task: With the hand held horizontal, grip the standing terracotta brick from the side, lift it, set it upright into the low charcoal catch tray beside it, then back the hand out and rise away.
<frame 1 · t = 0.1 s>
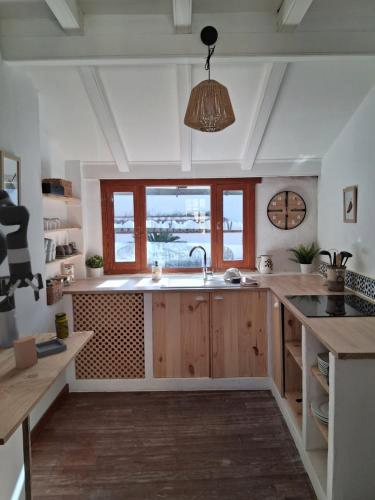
hand: (24, 303, 138), 29 cm above the table, tool pointing down, fingers open, 8 cm apart
tray: (49, 349, 169), on the table
brick: (27, 364, 154), on the table
condiment: (61, 337, 183), on the table
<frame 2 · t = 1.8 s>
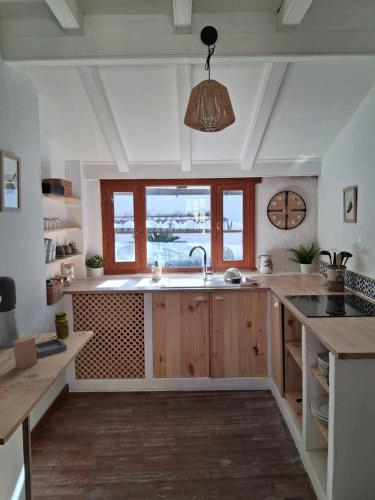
nothing on the table moved.
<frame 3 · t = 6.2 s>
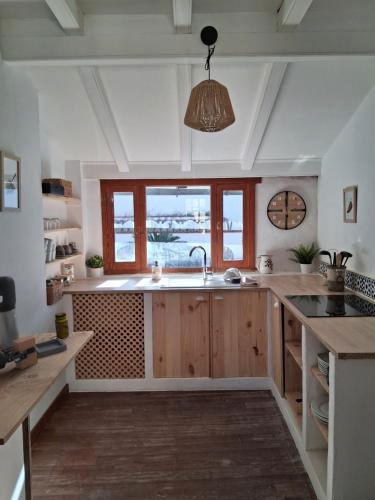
hand: (31, 348, 155), 6 cm above the table, tool horizontal, fingers closed on brick, 4 cm apart
brick: (26, 364, 154), on the table, touching gripper
everything else where it was.
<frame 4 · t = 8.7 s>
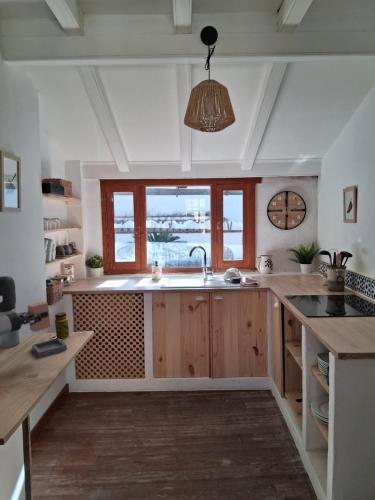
hand: (44, 313, 164), 18 cm above the table, tool horizontal, fingers closed on brick, 4 cm apart
brick: (40, 328, 163), point 12 cm above the table, touching gripper
everything else where it was.
when the fingers open (8 cm above the table, at t = 11.3 s): brick drops 1 cm, resting on tray.
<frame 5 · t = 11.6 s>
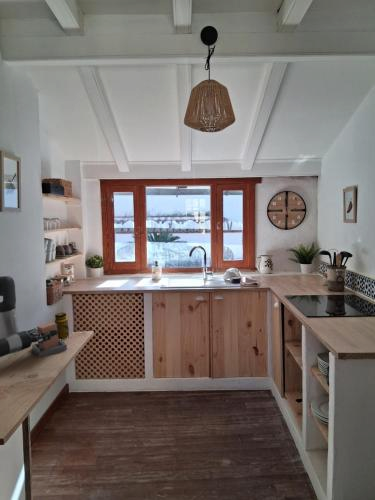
hand: (52, 330, 169), 8 cm above the table, tool horizontal, fingers open, 7 cm apart
brick: (49, 348, 168), point 1 cm above the table, touching tray
everything else where it was.
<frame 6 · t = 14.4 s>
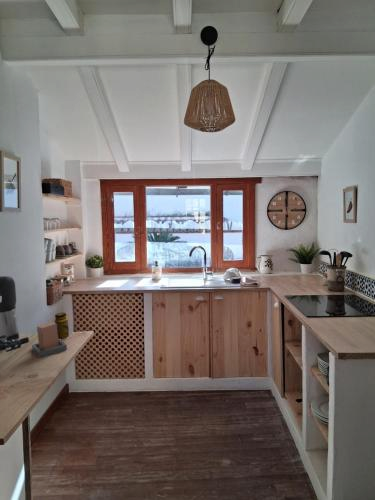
hand: (23, 337, 159), 9 cm above the table, tool horizontal, fingers open, 8 cm apart
nothing on the table moved.
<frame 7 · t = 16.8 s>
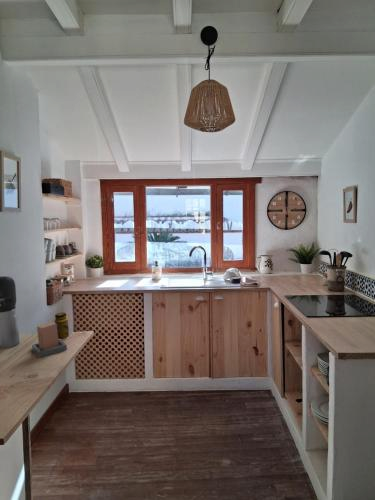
hand: (7, 298, 152), 28 cm above the table, tool horizontal, fingers open, 8 cm apart
nothing on the table moved.
at the end: brick inside the target area on the tray (0.0 cm from its centre), point 0.6 cm above the tray's base; brick tilted 0°; the gripper is holding nothing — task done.
